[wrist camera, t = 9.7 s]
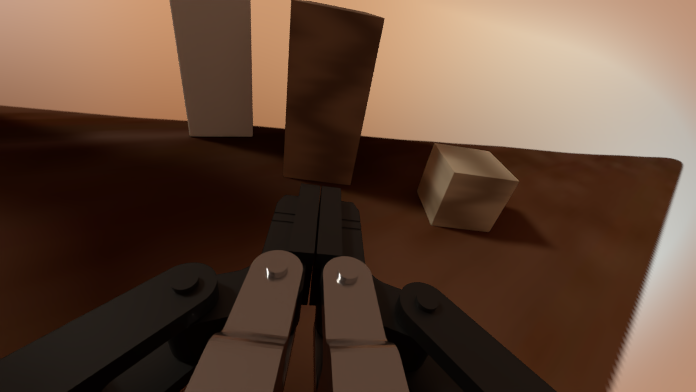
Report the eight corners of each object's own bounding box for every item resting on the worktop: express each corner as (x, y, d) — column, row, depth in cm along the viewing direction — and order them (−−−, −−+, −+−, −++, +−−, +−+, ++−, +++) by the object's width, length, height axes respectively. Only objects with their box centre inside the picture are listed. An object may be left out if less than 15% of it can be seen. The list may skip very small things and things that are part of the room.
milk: (192, 115, 32) (148, -186, 20) (248, 117, 35) (238, -152, 23) (189, 138, 28) (132, -233, 16) (254, 137, 30) (247, -185, 18)
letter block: (430, 226, 23) (454, 172, 20) (416, 191, 27) (434, 143, 24) (491, 233, 23) (521, 181, 20) (467, 198, 27) (491, 151, 25)
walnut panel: (283, 177, 25) (291, -1, 18) (301, 119, 37) (310, 1, 30) (351, 186, 26) (386, 18, 18) (347, 126, 38) (367, 12, 31)
